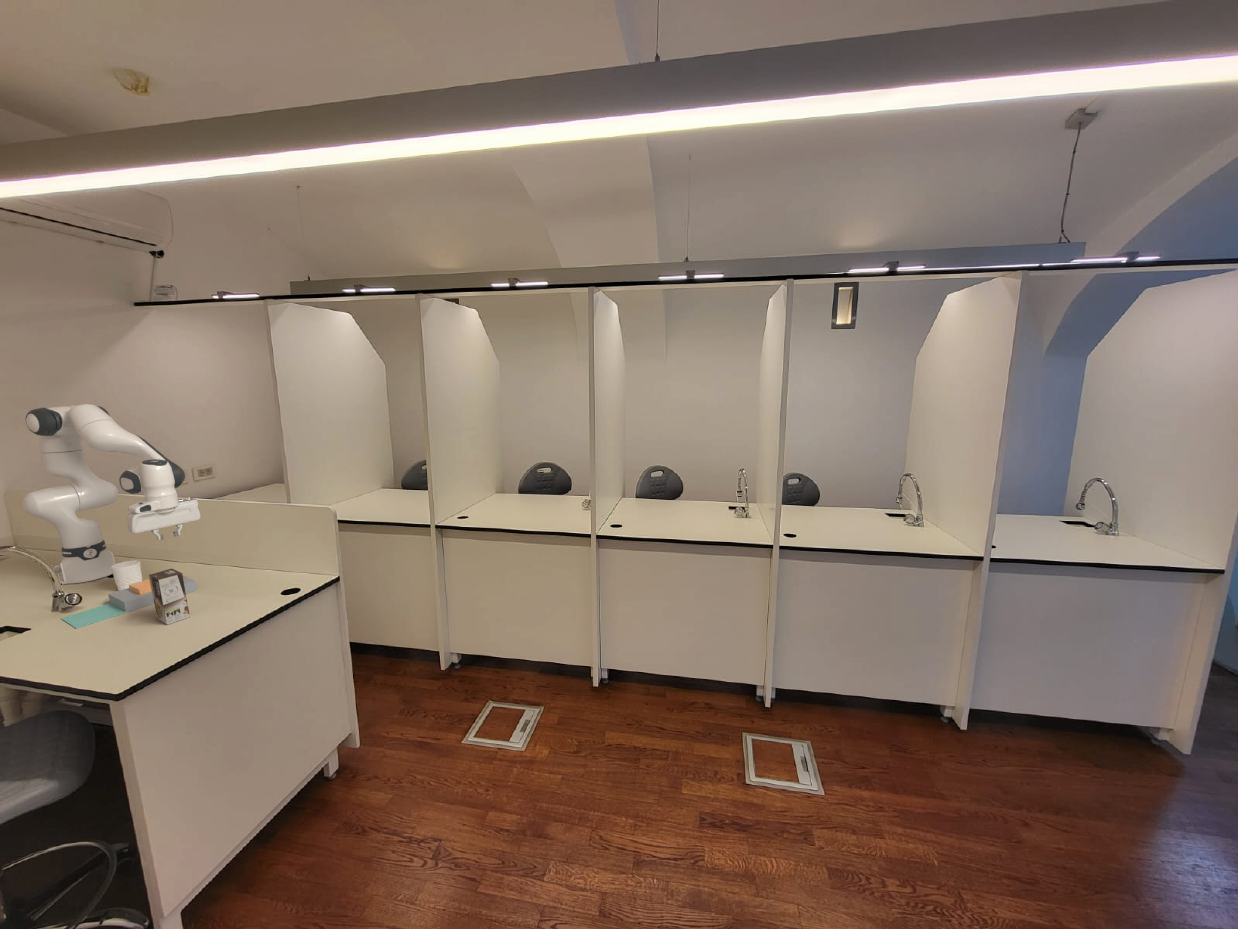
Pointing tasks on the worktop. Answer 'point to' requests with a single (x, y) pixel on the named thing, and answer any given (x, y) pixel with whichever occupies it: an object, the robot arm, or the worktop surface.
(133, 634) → the worktop surface
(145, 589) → the orange block
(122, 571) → the white cup
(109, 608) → the mat
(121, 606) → the gray block
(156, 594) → the coffee box
